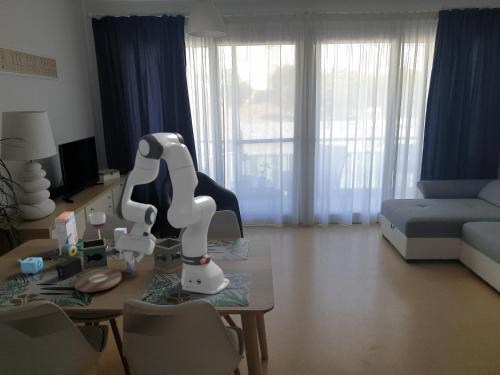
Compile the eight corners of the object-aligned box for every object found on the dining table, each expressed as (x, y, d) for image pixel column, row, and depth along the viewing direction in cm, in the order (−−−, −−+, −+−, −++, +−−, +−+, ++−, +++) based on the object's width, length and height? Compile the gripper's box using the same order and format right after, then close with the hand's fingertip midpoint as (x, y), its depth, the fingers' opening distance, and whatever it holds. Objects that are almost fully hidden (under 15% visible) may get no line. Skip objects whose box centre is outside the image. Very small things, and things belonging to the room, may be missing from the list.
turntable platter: (131, 276, 172) (130, 273, 172) (94, 296, 155) (94, 292, 155) (102, 268, 182) (101, 265, 182) (64, 285, 165) (64, 282, 165)
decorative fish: (68, 264, 196) (77, 265, 194) (53, 254, 186) (63, 256, 184) (78, 242, 203) (87, 243, 201) (65, 232, 193) (74, 232, 191)
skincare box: (128, 247, 212) (126, 227, 209) (125, 250, 208) (123, 230, 205) (118, 247, 213) (116, 227, 210) (115, 250, 209) (113, 230, 206)
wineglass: (105, 250, 209) (101, 216, 205) (90, 250, 209) (86, 216, 205) (111, 244, 217) (107, 212, 213) (96, 244, 217) (92, 212, 213)
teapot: (15, 275, 180) (13, 260, 178) (23, 269, 186) (20, 255, 184) (39, 274, 180) (37, 260, 178) (46, 269, 186) (44, 255, 184)
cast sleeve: (137, 269, 183) (135, 250, 181) (130, 273, 180) (128, 254, 177) (130, 267, 185) (129, 249, 183) (123, 271, 182) (121, 252, 179)
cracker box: (68, 245, 217) (63, 211, 212) (78, 245, 217) (74, 211, 213) (58, 255, 203) (53, 218, 198) (70, 254, 204) (65, 218, 199)
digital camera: (74, 269, 185) (72, 256, 184) (82, 271, 183) (80, 257, 182) (56, 278, 176) (54, 264, 175) (64, 280, 174) (62, 266, 172)
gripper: (119, 230, 188) (107, 255, 182) (153, 234, 182) (142, 260, 175) (125, 235, 194) (114, 260, 187) (159, 239, 187) (149, 265, 180)
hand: (128, 260), depth 181 cm, fingers open, 8 cm apart
